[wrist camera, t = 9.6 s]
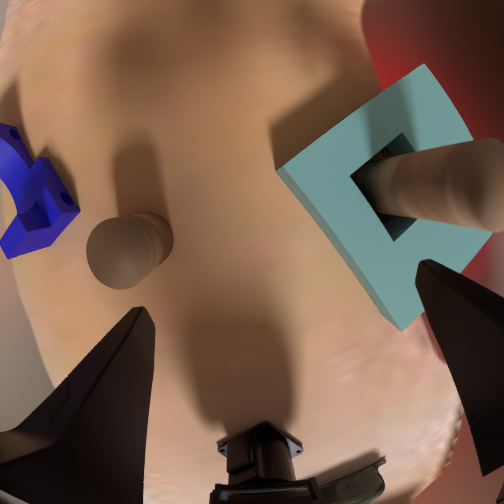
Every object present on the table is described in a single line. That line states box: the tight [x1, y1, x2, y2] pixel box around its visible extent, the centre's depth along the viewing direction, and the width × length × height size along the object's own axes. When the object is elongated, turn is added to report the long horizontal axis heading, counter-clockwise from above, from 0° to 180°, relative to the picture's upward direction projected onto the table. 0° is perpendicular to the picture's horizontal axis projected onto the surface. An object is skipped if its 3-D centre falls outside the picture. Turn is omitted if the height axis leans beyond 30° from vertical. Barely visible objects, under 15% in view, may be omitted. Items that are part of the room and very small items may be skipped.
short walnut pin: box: [86, 212, 173, 289], centre depth 18 cm, size 4×4×6 cm
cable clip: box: [0, 123, 80, 259], centre depth 17 cm, size 12×4×6 cm, turn 37°
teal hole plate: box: [276, 64, 493, 332], centre depth 19 cm, size 15×15×4 cm
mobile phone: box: [319, 459, 386, 504], centre depth 25 cm, size 5×3×15 cm
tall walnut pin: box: [354, 138, 504, 232], centre depth 15 cm, size 4×4×12 cm
